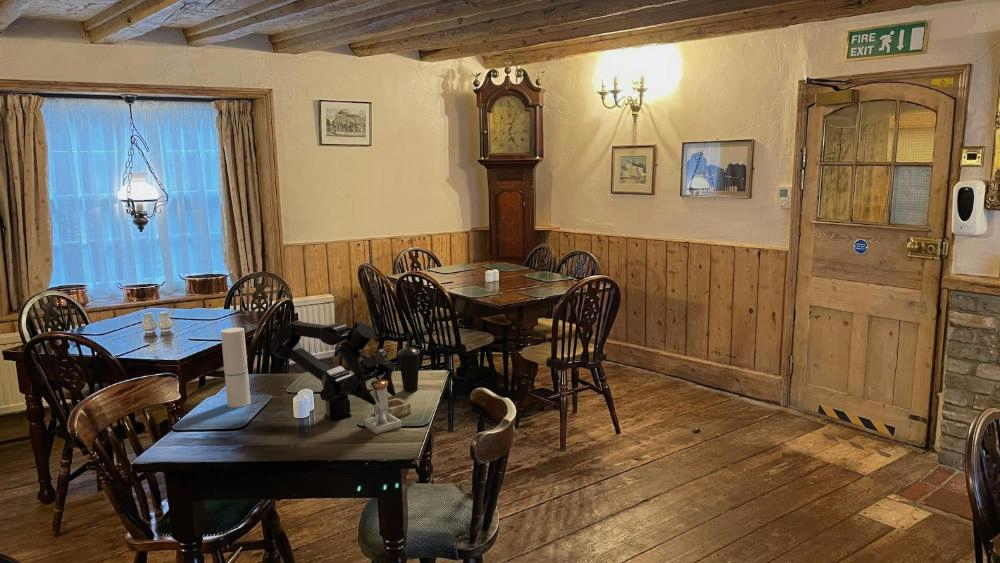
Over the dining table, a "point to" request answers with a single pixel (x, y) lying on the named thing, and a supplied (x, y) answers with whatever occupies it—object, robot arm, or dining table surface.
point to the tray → (392, 424)
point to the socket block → (398, 407)
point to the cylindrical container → (235, 367)
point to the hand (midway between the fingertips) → (385, 399)
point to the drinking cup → (409, 367)
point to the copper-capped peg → (380, 401)
